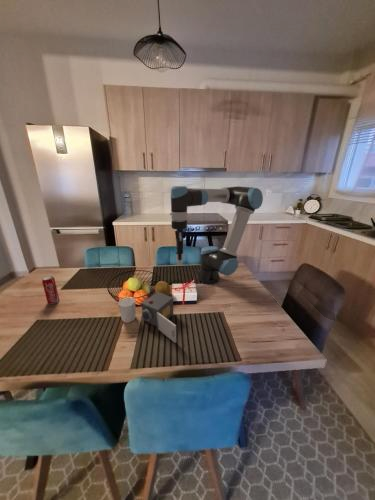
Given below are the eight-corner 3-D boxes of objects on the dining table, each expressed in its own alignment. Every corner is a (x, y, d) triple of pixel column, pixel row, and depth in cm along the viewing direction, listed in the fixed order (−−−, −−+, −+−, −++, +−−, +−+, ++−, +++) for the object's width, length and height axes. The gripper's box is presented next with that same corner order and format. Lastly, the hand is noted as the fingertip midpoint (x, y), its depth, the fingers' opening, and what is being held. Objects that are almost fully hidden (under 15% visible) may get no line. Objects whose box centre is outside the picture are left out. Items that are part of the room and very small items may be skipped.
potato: (171, 277, 126) (156, 276, 126) (170, 289, 114) (153, 288, 114) (170, 290, 130) (155, 289, 130) (169, 303, 118) (153, 302, 117)
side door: (156, 329, 97) (155, 313, 94) (159, 327, 98) (158, 311, 95) (173, 343, 89) (173, 326, 86) (176, 341, 90) (176, 325, 87)
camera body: (158, 307, 113) (157, 290, 109) (173, 314, 108) (173, 296, 104) (139, 322, 102) (138, 303, 98) (155, 330, 97) (154, 311, 93)
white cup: (131, 311, 110) (129, 295, 107) (139, 318, 105) (138, 301, 101) (117, 318, 105) (115, 301, 101) (125, 325, 100) (123, 308, 96)
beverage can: (48, 306, 114) (42, 282, 109) (46, 300, 119) (40, 277, 113) (60, 301, 118) (55, 278, 112) (58, 296, 122) (52, 274, 117)
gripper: (170, 217, 105) (171, 260, 113) (172, 223, 93) (173, 270, 101) (185, 217, 106) (185, 259, 114) (188, 222, 94) (188, 269, 102)
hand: (179, 264), depth 108 cm, fingers closed
